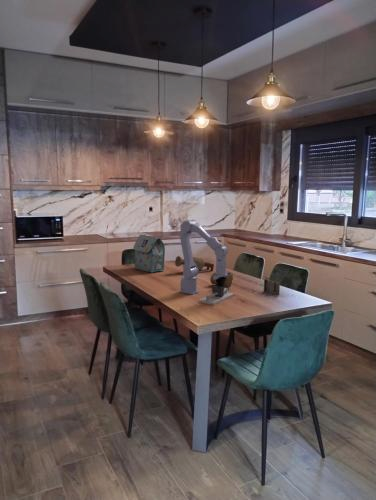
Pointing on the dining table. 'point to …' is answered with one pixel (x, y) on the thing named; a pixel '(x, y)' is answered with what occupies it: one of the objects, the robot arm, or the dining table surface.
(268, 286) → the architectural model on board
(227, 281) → the brown lobed block
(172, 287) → the dining table surface
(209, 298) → the rail board
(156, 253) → the lunch bag
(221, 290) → the collar
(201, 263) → the olive brown long piece
